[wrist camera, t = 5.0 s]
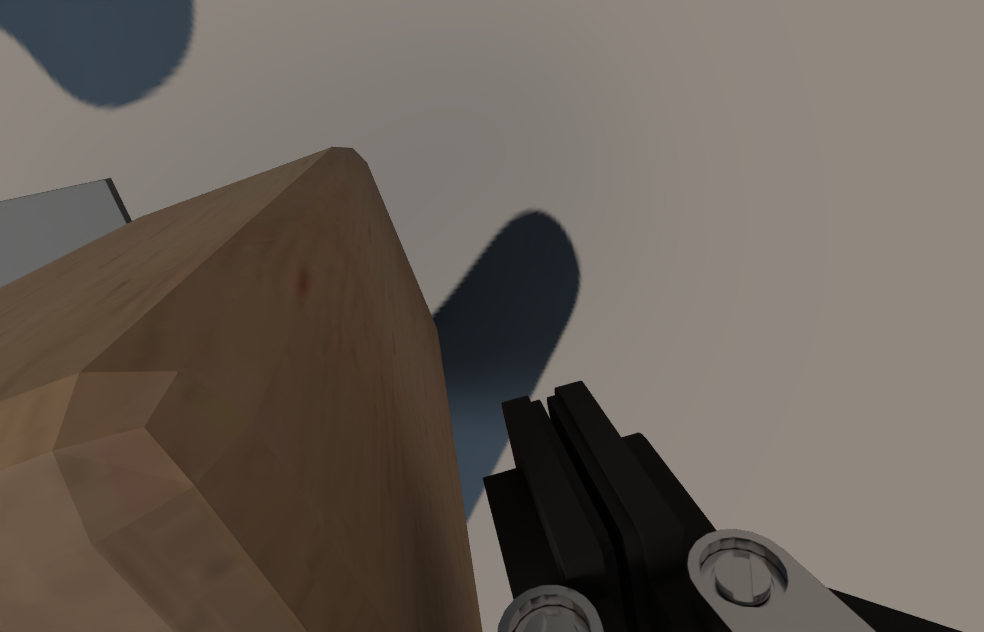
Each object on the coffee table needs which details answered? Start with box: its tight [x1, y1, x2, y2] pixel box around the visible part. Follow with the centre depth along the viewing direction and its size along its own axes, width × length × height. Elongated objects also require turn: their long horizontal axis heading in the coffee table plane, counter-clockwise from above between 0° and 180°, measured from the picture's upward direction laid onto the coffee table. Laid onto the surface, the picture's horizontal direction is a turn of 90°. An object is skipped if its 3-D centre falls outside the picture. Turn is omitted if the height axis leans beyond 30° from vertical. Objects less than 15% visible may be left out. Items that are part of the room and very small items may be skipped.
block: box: [0, 147, 482, 632], centre depth 15 cm, size 10×10×20 cm
